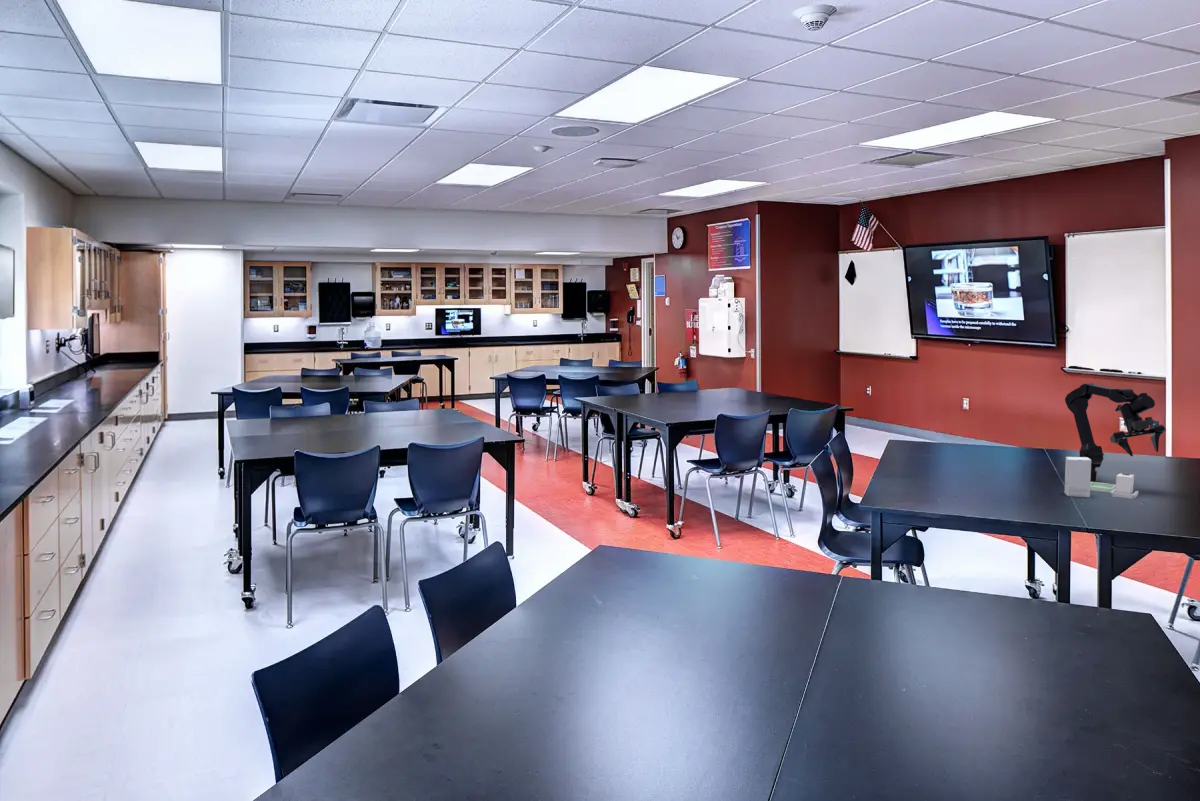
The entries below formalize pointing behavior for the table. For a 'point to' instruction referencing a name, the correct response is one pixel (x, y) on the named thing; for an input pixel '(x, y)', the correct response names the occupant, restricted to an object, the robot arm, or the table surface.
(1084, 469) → the skincare box
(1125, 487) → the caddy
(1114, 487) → the tray
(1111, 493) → the dock
